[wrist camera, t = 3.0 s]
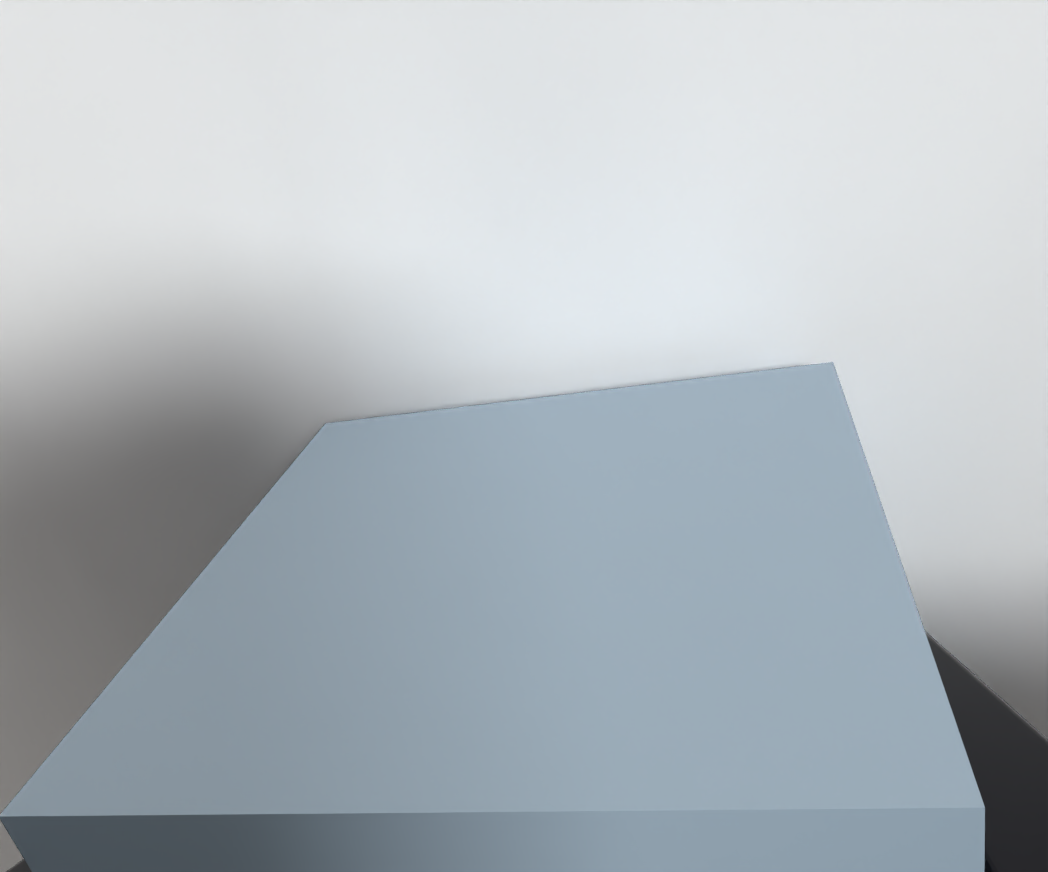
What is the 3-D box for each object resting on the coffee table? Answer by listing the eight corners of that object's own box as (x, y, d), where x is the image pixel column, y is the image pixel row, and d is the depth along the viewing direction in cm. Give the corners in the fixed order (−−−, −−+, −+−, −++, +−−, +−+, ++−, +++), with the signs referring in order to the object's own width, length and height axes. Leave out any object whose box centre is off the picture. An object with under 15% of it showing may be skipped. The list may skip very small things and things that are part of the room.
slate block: (832, 362, 8) (987, 809, 4) (860, 773, 10) (980, 1367, 6) (325, 423, 9) (-2, 815, 5) (440, 780, 11) (279, 1280, 7)
